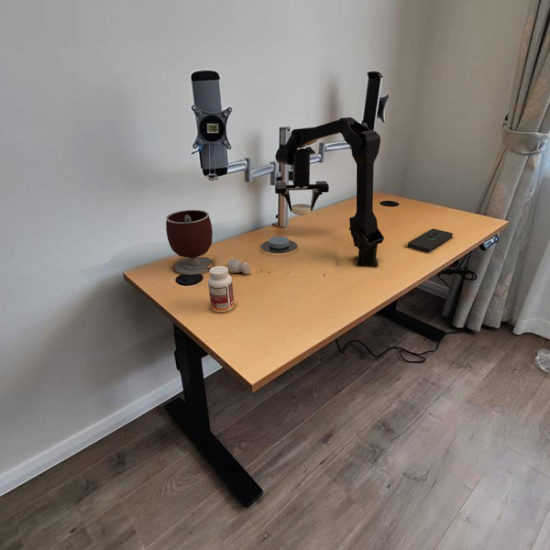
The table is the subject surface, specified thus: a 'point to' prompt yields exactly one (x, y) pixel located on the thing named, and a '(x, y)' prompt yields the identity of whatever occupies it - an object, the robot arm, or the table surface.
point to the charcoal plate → (289, 248)
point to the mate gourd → (190, 239)
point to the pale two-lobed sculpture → (238, 266)
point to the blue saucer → (278, 242)
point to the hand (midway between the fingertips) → (301, 210)
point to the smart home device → (430, 240)
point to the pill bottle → (221, 289)
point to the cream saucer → (301, 209)
